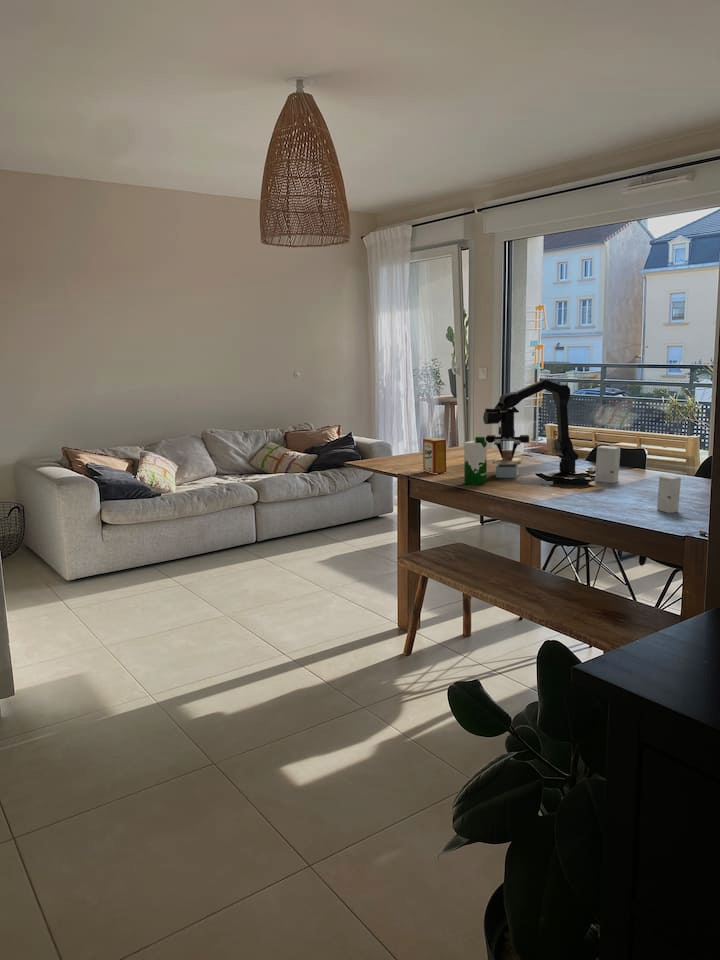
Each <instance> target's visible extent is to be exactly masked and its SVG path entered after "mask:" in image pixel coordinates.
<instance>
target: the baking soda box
mask: <svg viewBox="0 0 720 960" xmlns="http://www.w3.org/2000/svg"><path fill="white" fill-rule="evenodd" d="M422 455H423V456H422V460H423V464H422V465H423V466H422V468H423V469H422V470H426V471H429V472H433V473H443V474H445V473H444V472H446V473H447V439H445V438H439V437H428V438H426V437H425V438H422Z"/></svg>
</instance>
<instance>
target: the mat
mask: <svg viewBox="0 0 720 960" xmlns="http://www.w3.org/2000/svg"><path fill="white" fill-rule="evenodd" d="M541 478H542V477H519V481H518V484H517V485H546V486H547V485H550V486H551V485H552V486H553V484H554V480H553V481H546V480H543V479H541Z"/></svg>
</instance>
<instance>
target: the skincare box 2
mask: <svg viewBox="0 0 720 960" xmlns="http://www.w3.org/2000/svg"><path fill="white" fill-rule="evenodd" d="M681 479H682V478H681V477H678V476H673V475H670V474H669V475H667V474H666V475H661V476H659V478H658V489H657V491H658V492H657V493H658V494H657V503H656V510H657V511H661V512H664V513H668V514H672V513H678V512H679V507H680V505H679V504H680V495H681V494H680V493H681V483H682V481H681Z"/></svg>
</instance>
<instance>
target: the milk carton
mask: <svg viewBox="0 0 720 960" xmlns="http://www.w3.org/2000/svg"><path fill="white" fill-rule="evenodd" d="M462 445H463V451H464V452H463V454H464V457H463V458H464V460H463V461H464V466H463V467H464V470H463V471H464V485H469V486H470V485H471V486H481V485H484V484H485V483H487V482H488V480H487V479H488V477H487V475H488V474H487V468H488V467H487V462H488V461H487V459H488V457H487V453H488V452H487V451H488V450H487V449H488V441H486V437H484V436H475V438H474V440H468V441H465V442H463V444H462Z"/></svg>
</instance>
